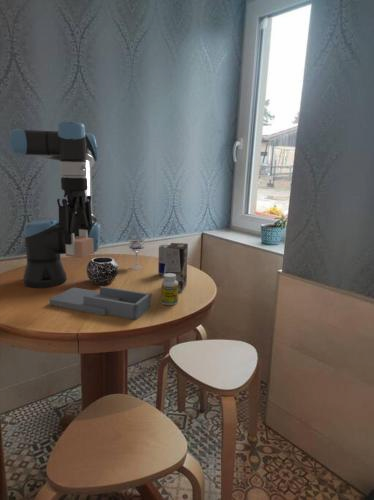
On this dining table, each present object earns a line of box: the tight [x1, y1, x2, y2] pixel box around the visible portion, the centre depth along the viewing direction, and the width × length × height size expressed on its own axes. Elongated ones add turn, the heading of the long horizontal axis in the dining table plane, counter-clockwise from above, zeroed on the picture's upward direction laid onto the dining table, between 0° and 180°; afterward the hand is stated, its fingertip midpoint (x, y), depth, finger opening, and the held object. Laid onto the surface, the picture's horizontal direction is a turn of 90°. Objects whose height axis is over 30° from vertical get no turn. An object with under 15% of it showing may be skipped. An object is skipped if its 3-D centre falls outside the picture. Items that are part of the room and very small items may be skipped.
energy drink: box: [157, 244, 170, 277], centre depth 144 cm, size 5×5×12 cm
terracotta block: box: [65, 236, 95, 259], centre depth 111 cm, size 6×6×5 cm
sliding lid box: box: [48, 285, 152, 321], centre depth 112 cm, size 30×12×4 cm, turn 71°
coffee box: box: [166, 242, 189, 293], centre depth 129 cm, size 9×6×16 cm
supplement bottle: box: [161, 273, 179, 306], centre depth 116 cm, size 5×5×10 cm
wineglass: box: [128, 238, 145, 270], centre depth 153 cm, size 7×7×12 cm
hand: (77, 251), depth 111 cm, fingers closed on terracotta block, 6 cm apart
